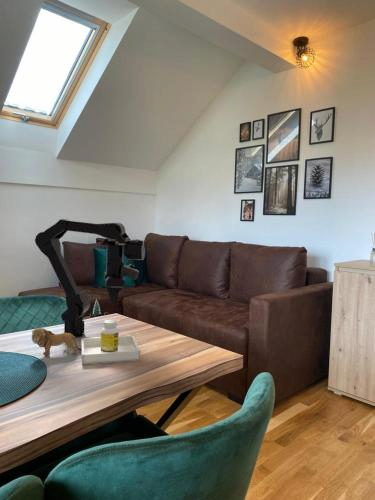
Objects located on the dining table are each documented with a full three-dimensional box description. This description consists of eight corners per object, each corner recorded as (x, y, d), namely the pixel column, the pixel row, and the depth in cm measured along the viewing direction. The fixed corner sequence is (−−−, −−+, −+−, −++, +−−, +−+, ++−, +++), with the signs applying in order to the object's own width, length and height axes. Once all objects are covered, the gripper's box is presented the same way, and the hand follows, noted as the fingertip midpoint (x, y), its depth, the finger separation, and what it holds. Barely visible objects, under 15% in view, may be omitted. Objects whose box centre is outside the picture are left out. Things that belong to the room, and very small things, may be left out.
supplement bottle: (116, 355, 116) (117, 324, 115) (98, 354, 116) (99, 323, 116) (119, 348, 122) (120, 319, 121) (102, 348, 122) (103, 318, 121)
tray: (82, 365, 109) (82, 355, 109) (81, 347, 124) (81, 338, 123) (140, 360, 114) (140, 350, 114) (132, 343, 129) (133, 335, 128)
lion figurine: (32, 360, 111) (32, 331, 110) (31, 354, 116) (31, 326, 115) (82, 354, 118) (83, 326, 117) (79, 348, 122) (80, 321, 122)
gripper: (140, 262, 125) (139, 308, 126) (135, 255, 143) (133, 296, 144) (106, 261, 122) (105, 308, 124) (105, 255, 140) (104, 296, 142)
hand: (113, 302), depth 133 cm, fingers open, 9 cm apart
